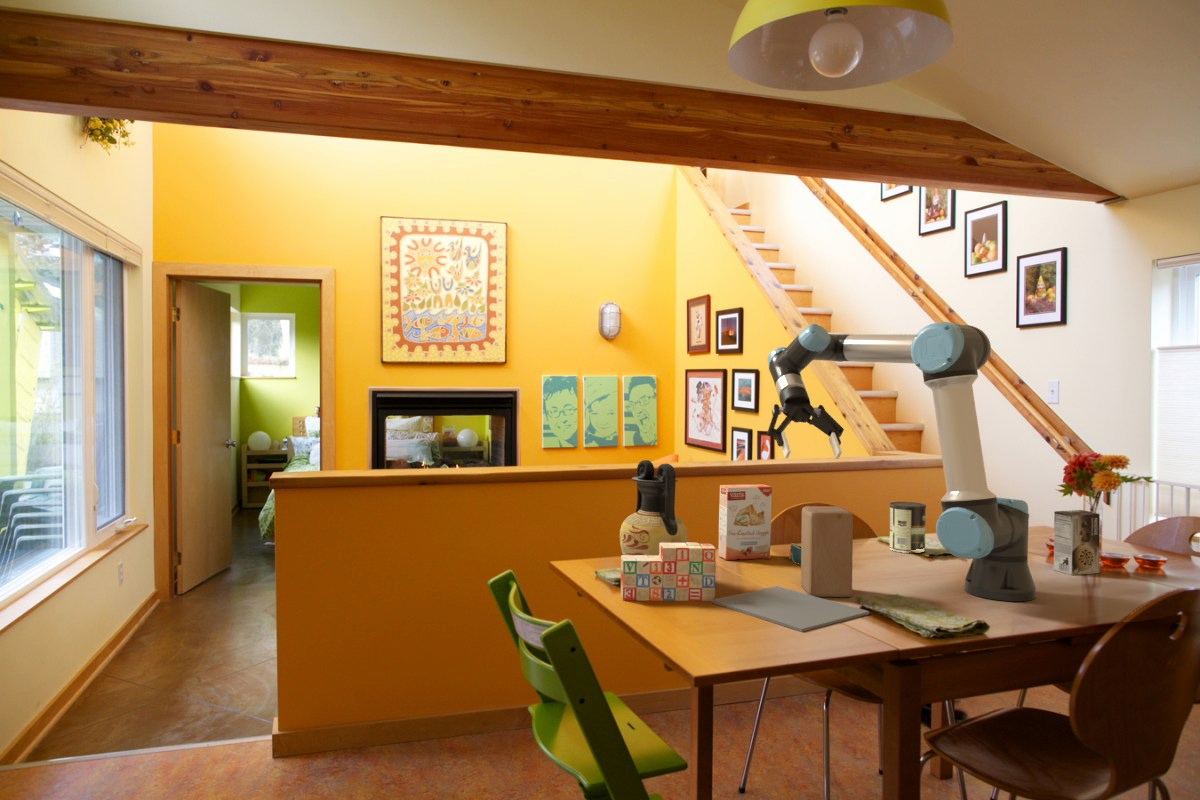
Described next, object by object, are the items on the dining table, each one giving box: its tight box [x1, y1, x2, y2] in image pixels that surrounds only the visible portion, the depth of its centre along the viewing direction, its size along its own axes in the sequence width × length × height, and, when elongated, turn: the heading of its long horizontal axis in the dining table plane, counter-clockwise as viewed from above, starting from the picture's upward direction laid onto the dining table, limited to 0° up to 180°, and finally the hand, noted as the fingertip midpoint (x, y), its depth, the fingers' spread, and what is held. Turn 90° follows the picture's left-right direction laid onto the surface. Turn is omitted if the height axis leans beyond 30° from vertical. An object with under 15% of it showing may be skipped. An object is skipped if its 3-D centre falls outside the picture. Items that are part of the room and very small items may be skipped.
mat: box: [710, 585, 870, 633], centre depth 173 cm, size 26×22×1 cm
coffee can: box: [888, 501, 927, 554], centre depth 237 cm, size 10×10×14 cm
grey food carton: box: [1053, 509, 1101, 576], centre depth 211 cm, size 9×6×16 cm
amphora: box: [619, 459, 688, 556], centre depth 197 cm, size 18×17×30 cm
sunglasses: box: [788, 542, 801, 565], centre depth 222 cm, size 14×15×5 cm
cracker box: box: [717, 483, 773, 561], centre depth 225 cm, size 14×6×21 cm, turn 105°
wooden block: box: [800, 505, 854, 598], centre depth 187 cm, size 10×10×20 cm
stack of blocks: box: [620, 541, 717, 602], centre depth 182 cm, size 21×6×12 cm, turn 92°
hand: (813, 455), depth 199 cm, fingers open, 13 cm apart
